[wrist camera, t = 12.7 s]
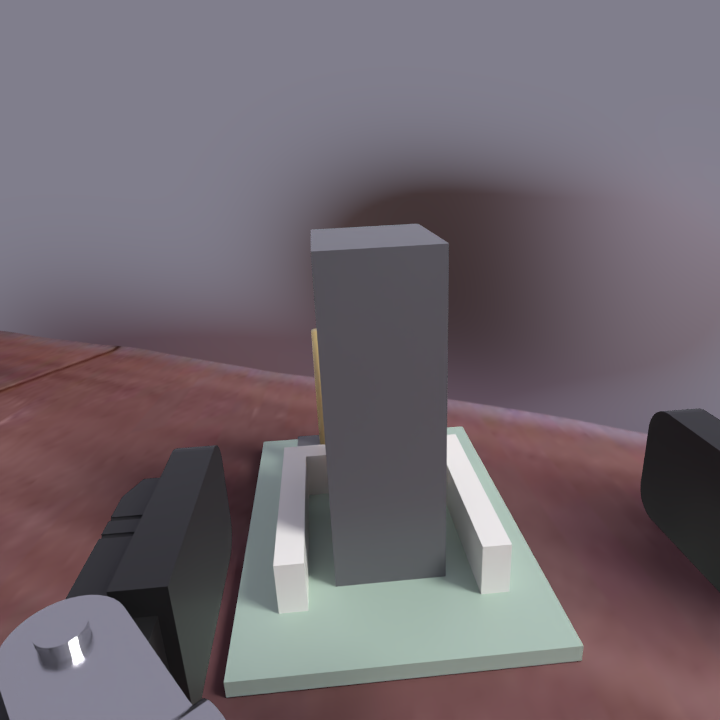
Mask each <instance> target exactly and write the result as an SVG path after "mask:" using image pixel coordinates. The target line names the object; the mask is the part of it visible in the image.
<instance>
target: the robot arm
mask: <svg viewBox="0 0 720 720" xmlns="http://www.w3.org/2000/svg"><path fill="white" fill-rule="evenodd" d="M641 498H642V502H643V505H644V508H645V510H646V512H647V514H648V515H649V517H650V518H651V520H652V521H653V522H654V523H655V524H656V525H657V526H658V527H659V528H660V529H661V530H662V531H663V532H664V533H665V535H666V536H667V537H668V538H669V539H670V540H671V541H672V542H673V543H674V544H675V545H676V546H677V547H678V548H679V549H680V551H681V552H682V553H683V554H684V555H685V556H686V557H687V558H688V559H689V560H690V561H691V562H692V563H693V564H694V565H695V567H696V568H697V569H698V570H699V571H700V572H701V573H702V574H703V575H704V576H705V577H706V578H707V579H708V580H709V581H710V583H711V584H712V585H713V586H714V587H715V588H716V589H717V590H718V591H719V592H720V420H719V419H718V418H716V417H714V416H713V415H711V414H710V413H708V412H707V411H705V410H702V409H686V410H674V411H660V412H657V413H656V414H654V416H653V417H652V419H651V421H650V424H649V430H648V437H647V444H646V451H645V458H644V465H643V472H642V479H641ZM101 535H102V538H101V539H99V540H98V542H97V543H96V545H95V547H94V549H93V551H92V552H91V554H90V556H89V558H88V560H87V561H86V563H85V565H84V567H83V569H82V570H81V572H80V574H79V576H78V578H77V579H76V581H75V583H74V585H73V587H72V588H71V590H70V592H69V594H68V596H67V597H66V599H65V600H63V601H60V602H57V603H55V604H52V605H50V606H48V607H46V608H44V609H42V610H40V611H38V612H37V613H35V614H34V615H32V616H31V617H29V618H28V619H26V620H25V621H24V622H23V623H21V624H20V625H19V626H18V627H17V628H16V629H15V630H14V631H13V632H12V633H11V634H10V635H9V636H8V637H7V639H6V640H5V641H4V642H3V644H2V646H1V647H0V720H226V719H225V718H224V717H223V715H222V714H221V713H220V711H219V710H218V709H217V708H216V707H215V706H214V704H213V703H211V702H210V701H209V700H207V699H205V698H203V699H201V698H202V693H203V688H204V684H205V679H206V674H207V669H208V664H209V659H210V654H211V649H212V644H213V639H214V634H215V629H216V624H217V620H218V615H219V610H220V605H221V600H222V595H223V590H224V585H225V580H226V575H227V570H228V565H229V560H230V555H231V546H232V528H231V518H230V511H229V504H228V497H227V490H226V484H225V477H224V470H223V463H222V457H221V452H220V449H219V447H218V446H217V445H216V446H203V447H190V448H177V449H174V450H173V452H172V454H171V456H170V458H169V460H168V462H167V465H166V467H165V469H164V471H163V473H162V475H161V477H160V478H150V479H143V480H142V481H141V482H140V483H139V484H137V485H136V486H135V487H134V488H133V489H131V490H130V491H129V492H128V493H127V494H125V495H124V496H123V497H122V498H121V500H120V502H119V504H118V506H117V507H116V509H115V511H114V513H113V515H112V516H111V521H109V522H108V524H107V525H106V527H105V529H104V531H103V533H102V534H101Z"/></svg>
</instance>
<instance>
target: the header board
mask: <svg viewBox="0 0 720 720" xmlns="http://www.w3.org/2000/svg"><path fill="white" fill-rule="evenodd" d="M311 336H312V349H313V362H314V374H315V387H316V400H317V413H318V426H319V435H313V436H300V437H298V439H295V440H282V441H269V442H264V445H263V451H262V457H261V463H260V468H259V474H258V480H257V486H256V492H255V498H254V504H253V510H252V516H251V522H250V528H249V534H248V540H247V546H246V552H245V558H244V564H243V570H242V576H241V582H240V588H239V594H238V600H237V606H236V612H235V618H234V624H233V630H232V636H231V642H230V648H229V654H228V660H227V665H226V671H225V677H224V688H225V694H226V698H227V697H236V696H246V695H255V694H265V693H275V692H284V691H294V690H303V689H313V688H323V687H332V686H342V685H352V684H361V683H371V682H380V681H390V680H400V679H409V678H419V677H429V676H438V675H448V674H457V673H467V672H477V671H486V670H496V669H506V668H515V667H525V666H534V665H544V664H554V663H563V662H573V661H582V654H583V644H582V642H581V641H580V639H579V637H578V635H577V633H576V631H575V630H574V628H573V626H572V624H571V622H570V621H569V619H568V617H567V615H566V613H565V612H564V610H563V608H562V606H561V604H560V603H559V601H558V599H557V597H556V595H555V593H554V592H553V590H552V588H551V586H550V584H549V583H548V581H547V579H546V577H545V575H544V574H543V572H542V570H541V568H540V566H539V565H538V563H537V561H536V559H535V557H534V555H533V554H532V552H531V550H530V548H529V546H528V545H527V543H526V541H525V539H524V537H523V536H522V534H521V532H520V530H519V528H518V527H517V525H516V523H515V521H514V519H513V517H512V516H511V514H510V512H509V510H508V508H507V507H506V505H505V503H504V501H503V499H502V498H501V496H500V494H499V492H498V490H497V489H496V487H495V485H494V483H493V481H492V479H491V478H490V476H489V474H488V472H487V470H486V469H485V467H484V465H483V463H482V461H481V460H480V458H479V456H478V454H477V452H476V451H475V449H474V447H473V445H472V443H471V441H470V440H469V438H468V436H467V434H466V432H465V431H464V429H463V427H450V428H447V482H446V576H444V577H433V578H423V579H412V580H402V581H391V582H381V583H370V584H359V585H349V586H338V587H336V582H335V569H334V556H333V542H332V529H331V515H330V502H329V488H328V475H327V462H326V448H325V435H324V421H323V408H322V394H321V381H320V368H319V354H318V341H317V328H315V329H312V330H311Z"/></svg>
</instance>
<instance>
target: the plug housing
mask: <svg viewBox="0 0 720 720" xmlns="http://www.w3.org/2000/svg"><path fill="white" fill-rule="evenodd" d="M311 259H312V272H313V286H314V301H315V313H316V327H317V341H318V354H319V368H320V381H321V394H322V408H323V421H324V435H325V448H326V462H327V475H328V488H329V502H330V515H331V529H332V542H333V556H334V569H335V582H336V587H338V586H349V585H359V584H370V583H381V582H391V581H402V580H412V579H423V578H433V577H444V576H446V482H447V378H448V375H447V374H448V273H449V272H448V271H449V270H448V269H449V267H448V266H449V243H447V242H446V241H444V240H442V239H441V238H439V237H438V236H436V235H435V234H433V233H432V232H430V231H428V230H427V229H425V228H424V227H422V226H421V225H419V224H405V225H389V226H370V227H352V228H334V229H317V230H311Z"/></svg>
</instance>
